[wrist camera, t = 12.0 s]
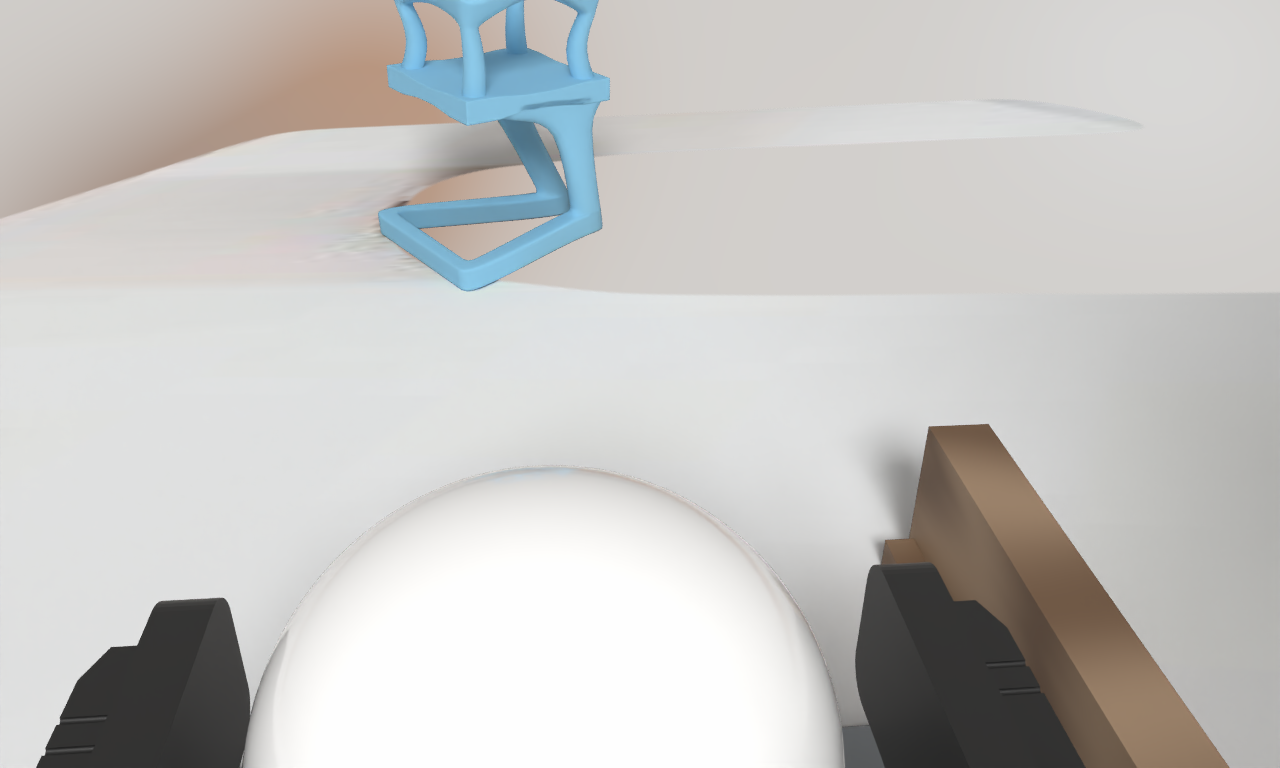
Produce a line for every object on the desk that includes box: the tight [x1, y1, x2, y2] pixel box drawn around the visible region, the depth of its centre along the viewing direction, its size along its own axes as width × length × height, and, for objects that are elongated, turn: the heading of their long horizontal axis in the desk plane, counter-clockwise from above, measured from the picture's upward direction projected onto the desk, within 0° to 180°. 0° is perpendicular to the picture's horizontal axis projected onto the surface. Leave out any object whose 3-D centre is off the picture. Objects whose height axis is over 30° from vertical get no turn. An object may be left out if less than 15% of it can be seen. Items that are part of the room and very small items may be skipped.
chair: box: [378, 0, 610, 291], centre depth 43 cm, size 8×8×12 cm
